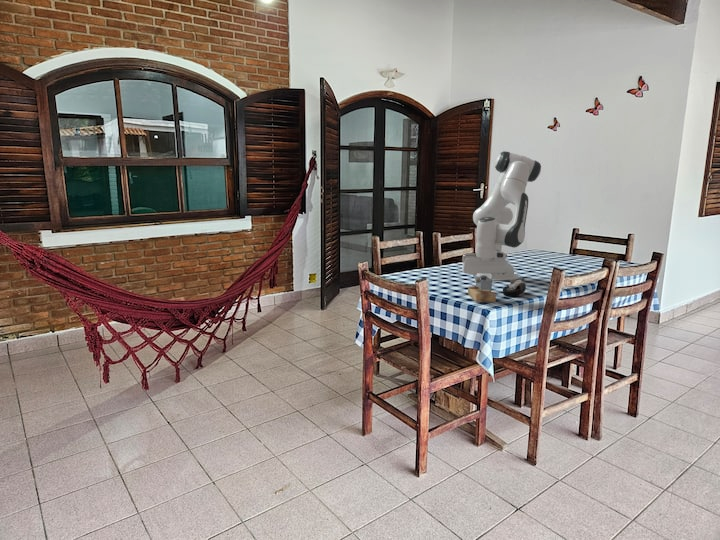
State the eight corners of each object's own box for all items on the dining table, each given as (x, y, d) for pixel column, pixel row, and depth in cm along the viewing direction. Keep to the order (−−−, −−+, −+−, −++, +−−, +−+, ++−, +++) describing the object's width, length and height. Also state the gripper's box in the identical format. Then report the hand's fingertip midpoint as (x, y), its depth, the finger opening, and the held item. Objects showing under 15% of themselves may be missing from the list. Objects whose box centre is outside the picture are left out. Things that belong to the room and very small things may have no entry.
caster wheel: (505, 302, 234) (501, 293, 243) (530, 298, 232) (525, 290, 241) (503, 289, 232) (500, 281, 241) (528, 285, 230) (523, 277, 239)
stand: (486, 294, 238) (487, 286, 237) (495, 301, 224) (496, 293, 223) (467, 294, 237) (468, 286, 237) (475, 302, 224) (476, 293, 223)
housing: (491, 289, 225) (492, 278, 224) (480, 290, 225) (481, 278, 224) (486, 285, 233) (486, 274, 232) (475, 285, 233) (476, 274, 232)
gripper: (464, 254, 223) (463, 284, 225) (509, 254, 224) (507, 284, 227) (460, 252, 229) (459, 281, 232) (504, 251, 230) (502, 280, 233)
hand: (483, 282), depth 229 cm, fingers closed on housing, 5 cm apart
